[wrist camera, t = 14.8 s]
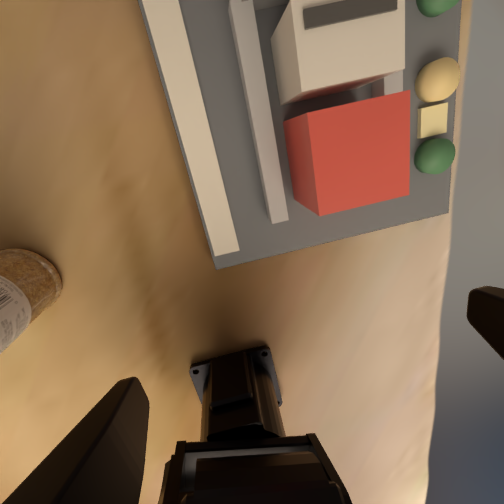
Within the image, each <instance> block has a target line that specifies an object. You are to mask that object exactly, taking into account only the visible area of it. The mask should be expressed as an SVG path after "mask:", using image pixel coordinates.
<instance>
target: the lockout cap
mask: <svg viewBox="0 0 504 504" xmlns="http://www.w3.org/2000/svg"><path fill="white" fill-rule="evenodd" d="M283 128H284V134H285V141H286V148H287V154H288V161H289V167H290V174H291V181H292V187H293V194H294V200H296V201H297V202H299V203H300V204H302V205H303V206H305V207H306V208H308V209H309V210H311V211H312V212H314V213H315V214H317V215H318V216H323V215H327V214H331V213H336V212H340V211H344V210H348V209H352V208H357V207H361V206H365V205H369V204H373V203H377V202H382V201H386V200H390V199H394V198H398V197H402V196H407V195H409V181H410V90H407V91H402V92H398V93H393V94H389V95H384V96H380V97H375V98H371V99H366V100H362V101H357V102H353V103H349V104H344V105H340V106H335V107H331V108H326V109H322V110H317V111H313V112H308V113H305V114H302V115H300V116H297V117H294V118H292V119H289V120H286V121H284V122H283Z"/></svg>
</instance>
